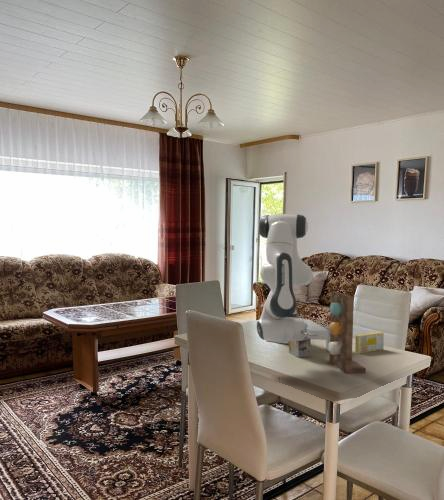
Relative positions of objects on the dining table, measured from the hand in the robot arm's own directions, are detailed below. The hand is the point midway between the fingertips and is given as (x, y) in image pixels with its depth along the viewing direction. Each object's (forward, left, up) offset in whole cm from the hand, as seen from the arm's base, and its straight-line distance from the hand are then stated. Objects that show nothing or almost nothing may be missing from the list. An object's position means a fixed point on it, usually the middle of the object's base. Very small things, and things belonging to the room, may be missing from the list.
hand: (330, 328), depth 174 cm
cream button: (0, +2, -10) cm, 11 cm away
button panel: (0, +8, -16) cm, 18 cm away
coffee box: (-20, -5, -16) cm, 26 cm away
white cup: (-26, +14, -16) cm, 33 cm away
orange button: (0, +2, -2) cm, 3 cm away
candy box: (-22, +30, -16) cm, 40 cm away
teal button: (0, +2, +6) cm, 6 cm away
